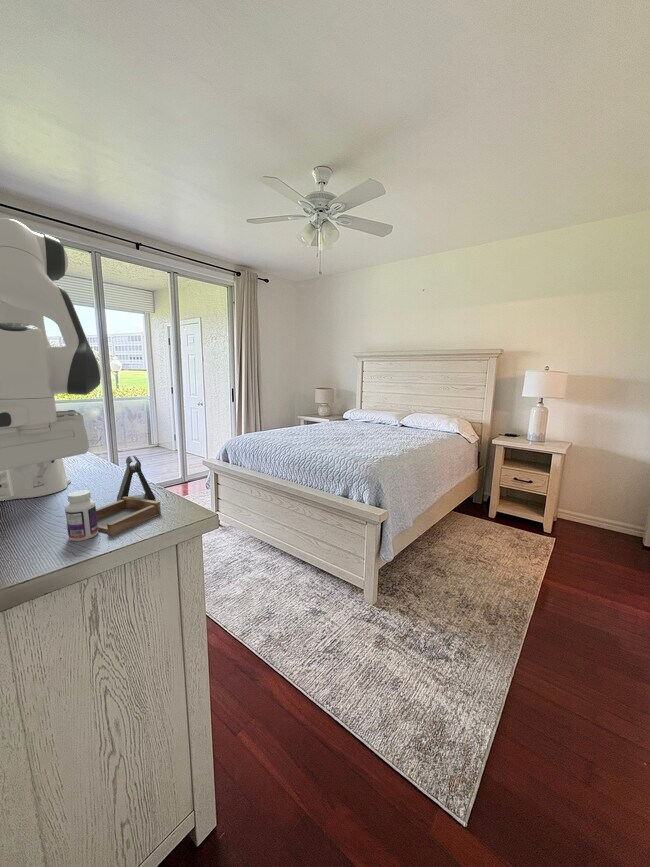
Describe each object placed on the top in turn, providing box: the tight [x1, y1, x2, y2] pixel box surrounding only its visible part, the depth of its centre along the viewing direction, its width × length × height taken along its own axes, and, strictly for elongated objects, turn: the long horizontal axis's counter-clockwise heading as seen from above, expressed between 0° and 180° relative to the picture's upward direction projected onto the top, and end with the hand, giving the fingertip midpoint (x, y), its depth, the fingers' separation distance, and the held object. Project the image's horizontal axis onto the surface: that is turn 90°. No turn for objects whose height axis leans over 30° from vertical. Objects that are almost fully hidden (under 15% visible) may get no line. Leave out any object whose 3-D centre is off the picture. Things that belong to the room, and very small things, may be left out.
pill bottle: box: [64, 489, 99, 542], centre depth 76 cm, size 5×5×10 cm
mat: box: [97, 508, 138, 526], centre depth 86 cm, size 9×11×1 cm
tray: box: [96, 495, 162, 537], centre depth 85 cm, size 11×14×3 cm
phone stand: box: [116, 455, 157, 502], centre depth 98 cm, size 9×6×12 cm, turn 124°
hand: (36, 486), depth 67 cm, fingers closed
